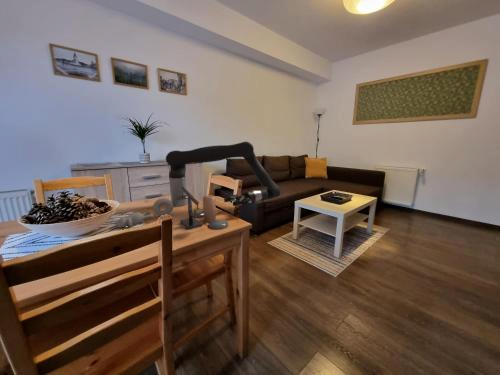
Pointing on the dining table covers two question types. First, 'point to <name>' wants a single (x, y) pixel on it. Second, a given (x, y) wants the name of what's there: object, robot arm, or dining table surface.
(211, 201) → the tan round cylinder
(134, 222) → the bunny figurine
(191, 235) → the dining table surface
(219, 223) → the dish low side
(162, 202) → the donut
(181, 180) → the robot arm
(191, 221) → the balance
